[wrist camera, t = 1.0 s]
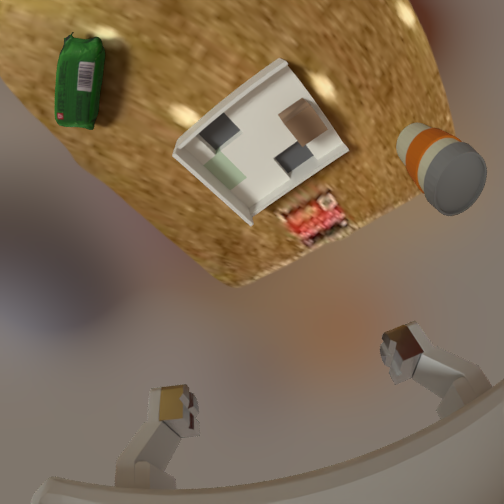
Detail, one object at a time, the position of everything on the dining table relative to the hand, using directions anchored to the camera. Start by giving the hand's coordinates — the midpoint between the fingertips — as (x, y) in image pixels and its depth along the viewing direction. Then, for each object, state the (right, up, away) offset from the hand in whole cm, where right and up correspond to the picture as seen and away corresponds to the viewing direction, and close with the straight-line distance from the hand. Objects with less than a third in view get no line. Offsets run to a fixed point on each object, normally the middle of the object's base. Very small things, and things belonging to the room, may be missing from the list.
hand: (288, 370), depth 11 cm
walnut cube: (+6, +25, +29) cm, 39 cm away
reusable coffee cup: (+30, +25, +36) cm, 53 cm away
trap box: (0, +23, +33) cm, 41 cm away
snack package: (-27, +31, +23) cm, 47 cm away
